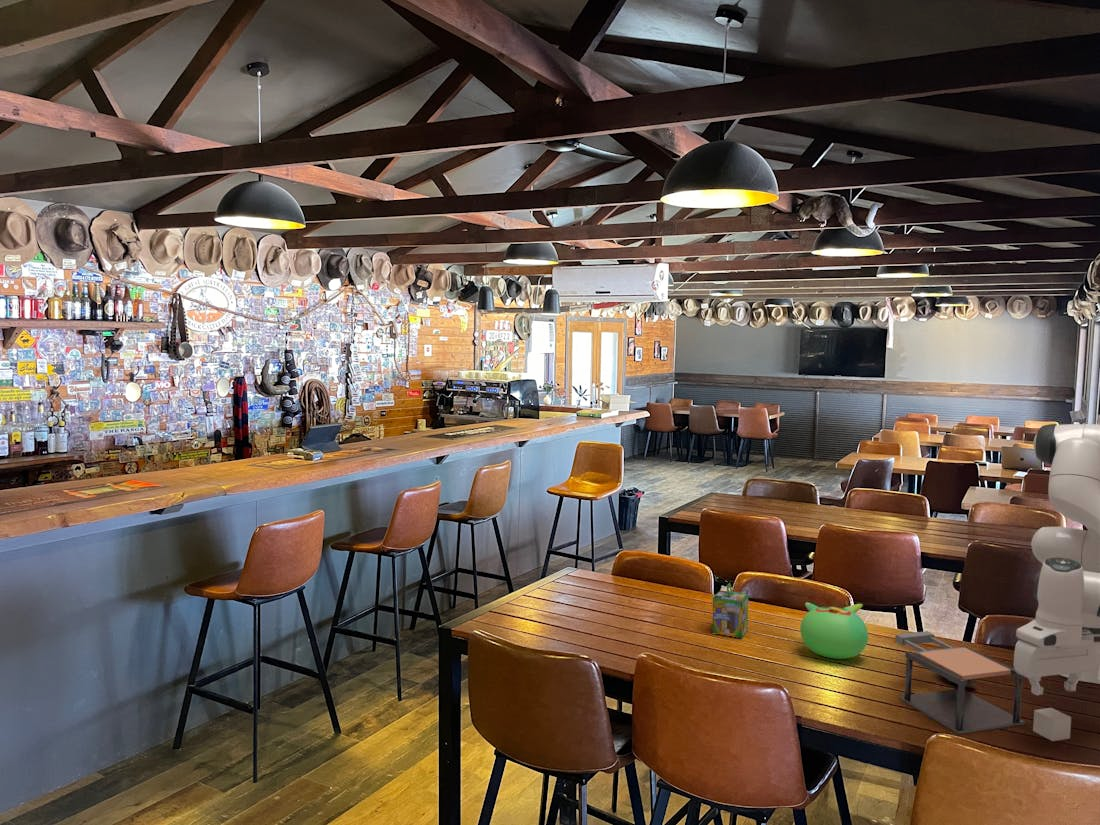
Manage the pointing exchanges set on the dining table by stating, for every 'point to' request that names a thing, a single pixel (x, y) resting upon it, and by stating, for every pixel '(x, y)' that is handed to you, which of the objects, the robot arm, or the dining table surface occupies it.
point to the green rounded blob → (834, 631)
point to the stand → (961, 701)
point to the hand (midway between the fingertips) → (1053, 692)
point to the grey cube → (1052, 724)
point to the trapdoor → (953, 657)
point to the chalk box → (730, 613)
